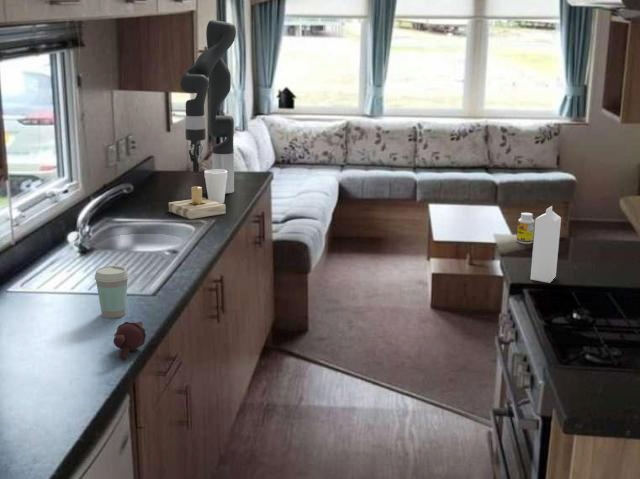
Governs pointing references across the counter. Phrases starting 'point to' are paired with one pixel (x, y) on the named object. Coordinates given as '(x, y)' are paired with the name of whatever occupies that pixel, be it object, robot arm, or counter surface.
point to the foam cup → (216, 184)
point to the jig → (197, 208)
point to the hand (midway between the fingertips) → (196, 172)
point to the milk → (545, 246)
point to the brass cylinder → (196, 195)
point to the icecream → (129, 338)
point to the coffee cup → (112, 290)
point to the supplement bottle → (525, 228)
